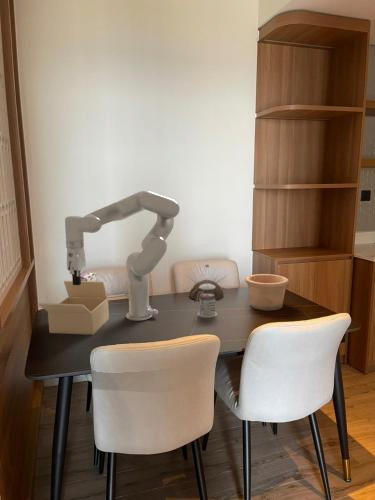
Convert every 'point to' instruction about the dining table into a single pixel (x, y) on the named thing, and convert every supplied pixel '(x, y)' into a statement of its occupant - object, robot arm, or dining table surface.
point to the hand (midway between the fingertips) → (76, 284)
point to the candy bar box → (89, 277)
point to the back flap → (86, 289)
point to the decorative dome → (195, 290)
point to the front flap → (64, 308)
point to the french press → (207, 301)
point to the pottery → (266, 291)
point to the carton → (80, 317)
